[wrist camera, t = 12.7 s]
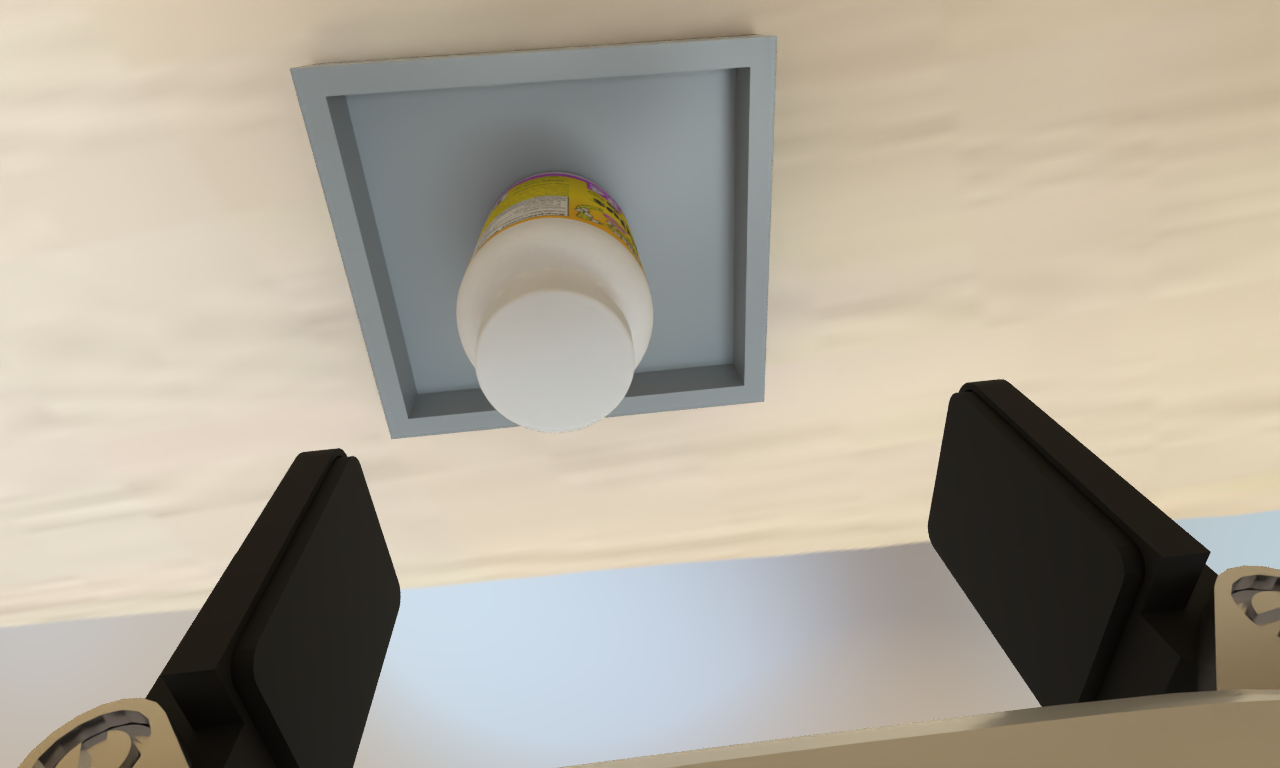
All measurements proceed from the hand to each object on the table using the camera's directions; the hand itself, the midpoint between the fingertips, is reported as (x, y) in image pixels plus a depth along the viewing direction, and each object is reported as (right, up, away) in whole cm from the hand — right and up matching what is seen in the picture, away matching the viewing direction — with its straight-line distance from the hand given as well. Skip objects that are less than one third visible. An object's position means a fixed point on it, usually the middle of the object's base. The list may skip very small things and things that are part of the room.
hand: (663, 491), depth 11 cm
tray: (-4, +8, +21) cm, 23 cm away
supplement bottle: (-4, +8, +20) cm, 22 cm away
